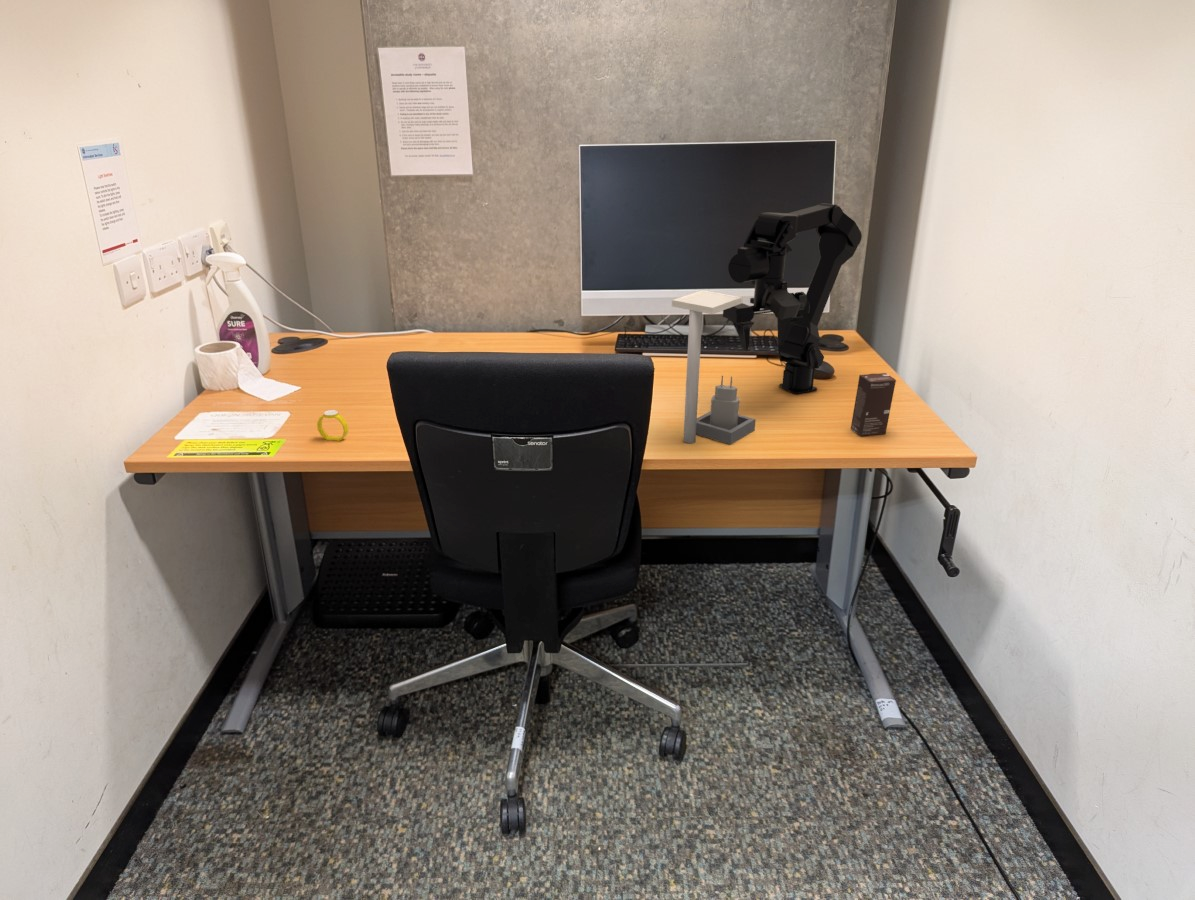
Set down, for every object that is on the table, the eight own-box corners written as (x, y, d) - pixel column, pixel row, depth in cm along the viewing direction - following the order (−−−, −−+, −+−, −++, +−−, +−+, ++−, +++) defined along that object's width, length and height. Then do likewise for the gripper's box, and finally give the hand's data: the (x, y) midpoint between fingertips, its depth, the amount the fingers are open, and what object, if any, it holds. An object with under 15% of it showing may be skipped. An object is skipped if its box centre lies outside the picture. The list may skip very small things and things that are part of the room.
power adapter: (735, 435, 164) (739, 379, 159) (708, 432, 166) (712, 377, 161) (737, 429, 167) (741, 374, 162) (711, 426, 168) (715, 372, 163)
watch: (350, 439, 163) (349, 411, 161) (344, 444, 161) (342, 417, 158) (323, 434, 164) (321, 407, 162) (316, 440, 162) (314, 413, 159)
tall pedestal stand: (706, 416, 173) (714, 286, 162) (754, 430, 167) (766, 295, 155) (666, 437, 163) (671, 300, 151) (716, 453, 156) (725, 310, 145)
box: (861, 437, 163) (869, 381, 158) (849, 429, 167) (857, 374, 162) (888, 434, 164) (897, 379, 159) (876, 426, 168) (884, 371, 163)
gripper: (755, 288, 158) (748, 364, 165) (830, 279, 165) (821, 352, 172) (723, 276, 167) (719, 349, 174) (796, 269, 175) (789, 338, 181)
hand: (763, 347), depth 175 cm, fingers open, 9 cm apart
